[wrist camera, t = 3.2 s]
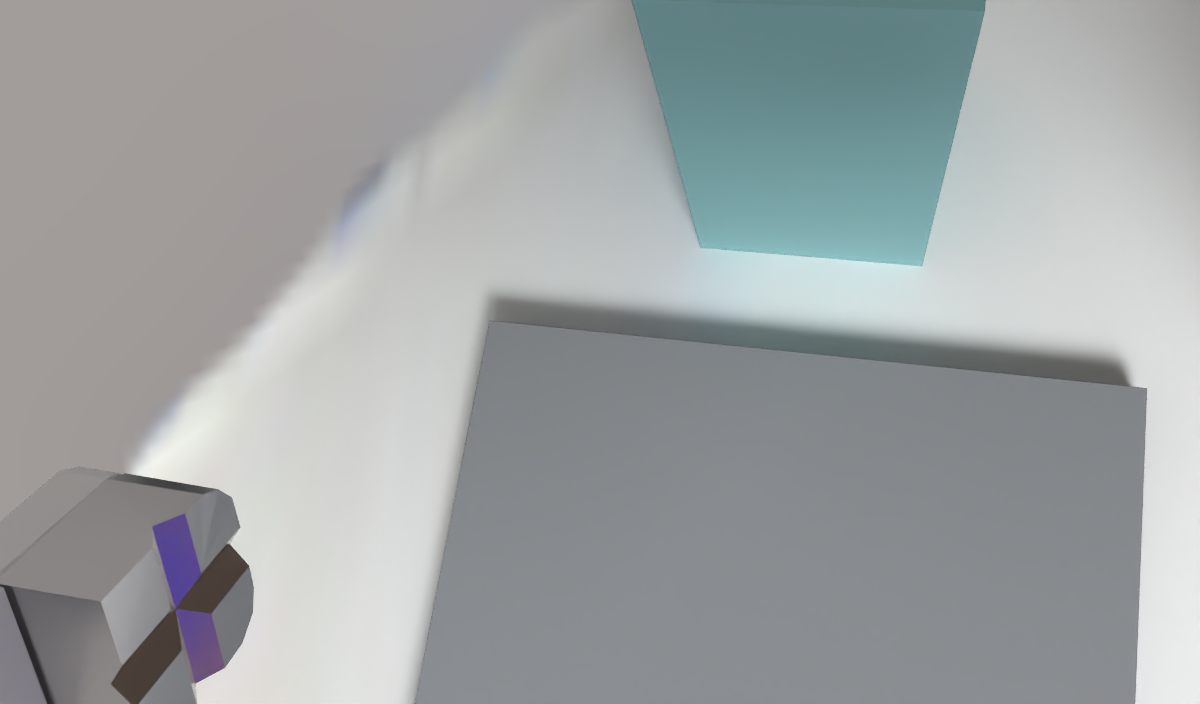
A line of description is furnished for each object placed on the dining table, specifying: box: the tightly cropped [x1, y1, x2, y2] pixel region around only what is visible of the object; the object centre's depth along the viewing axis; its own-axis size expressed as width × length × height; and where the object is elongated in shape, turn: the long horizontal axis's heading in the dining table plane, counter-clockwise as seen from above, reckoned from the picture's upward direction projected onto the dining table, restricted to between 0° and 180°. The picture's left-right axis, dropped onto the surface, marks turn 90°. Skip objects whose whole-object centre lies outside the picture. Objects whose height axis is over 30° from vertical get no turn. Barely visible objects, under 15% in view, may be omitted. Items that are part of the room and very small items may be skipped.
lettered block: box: [632, 0, 986, 266], centre depth 21 cm, size 5×5×10 cm
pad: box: [415, 321, 1147, 704], centre depth 22 cm, size 14×14×1 cm
